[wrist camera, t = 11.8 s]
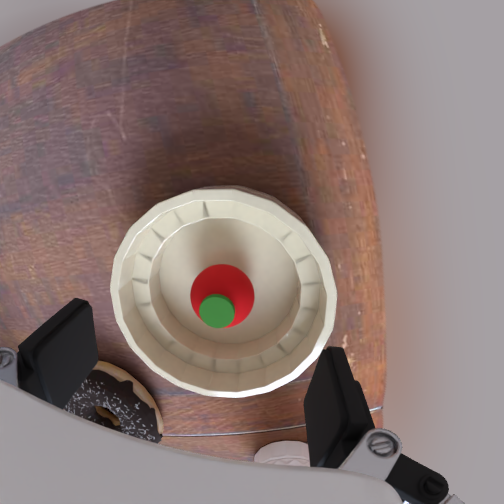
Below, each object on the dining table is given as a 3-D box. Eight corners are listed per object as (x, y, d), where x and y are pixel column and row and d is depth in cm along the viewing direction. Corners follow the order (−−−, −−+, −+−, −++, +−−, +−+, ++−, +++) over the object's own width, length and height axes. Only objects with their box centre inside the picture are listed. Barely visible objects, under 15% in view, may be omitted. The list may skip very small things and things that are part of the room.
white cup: (318, 470, 27) (326, 538, 17) (251, 474, 27) (247, 543, 18) (324, 433, 25) (338, 514, 15) (246, 437, 25) (239, 520, 16)
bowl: (110, 257, 21) (75, 279, 16) (248, 145, 19) (241, 136, 14) (215, 379, 24) (205, 420, 19) (353, 298, 21) (374, 331, 16)
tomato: (186, 277, 20) (167, 303, 16) (232, 244, 19) (222, 265, 15) (221, 319, 21) (212, 353, 17) (267, 290, 20) (267, 321, 16)
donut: (122, 342, 23) (102, 368, 19) (189, 431, 26) (181, 460, 22) (53, 364, 25) (34, 384, 21) (114, 439, 27) (103, 462, 23)
